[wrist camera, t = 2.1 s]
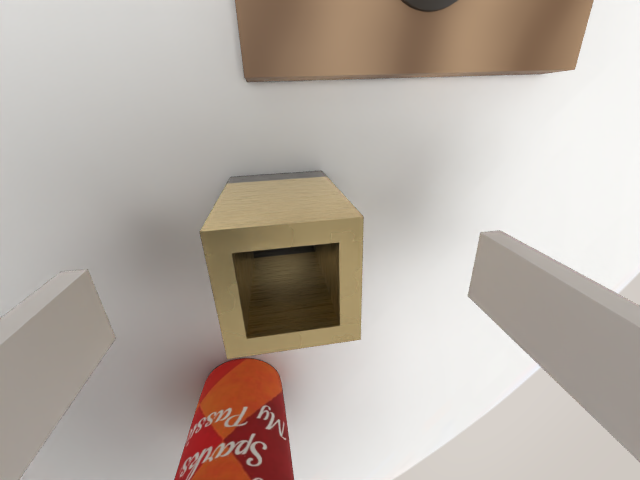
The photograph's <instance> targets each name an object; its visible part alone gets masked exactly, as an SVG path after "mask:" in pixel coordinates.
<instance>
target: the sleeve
mask: <svg viewBox="0 0 640 480" xmlns="http://www.w3.org/2000/svg"><path fill="white" fill-rule="evenodd" d="M363 218H364V217H363V216H362V215H361V214H360V212H359V211H358V210H357V209H356V208H355V207H354V206H353V205H352V204H351V203H350V201H349V200H348V199H347V198H346V197H345V196H344V195H343V194H342V193H341V191H340V190H339V189H338V188H337V187H336V186H335V185H334V184H333V183H332V181H331V180H330V179H329V178H328V177H327V176H326V175H325V174H324V173H323V172H322V171H311V172H296V173H282V174H267V175H252V176H237V177H230V179H229V180H228V182H227V184H226V186H225V187H224V189H223V191H222V193H221V195H220V196H219V198H218V200H217V202H216V203H215V205H214V207H213V209H212V211H211V212H210V214H209V216H208V218H207V219H206V221H205V223H204V225H203V227H202V228H201V230H200V236H201V240H202V245H203V250H204V254H205V259H206V264H207V268H208V273H209V277H210V282H211V287H212V291H213V296H214V301H215V305H216V310H217V314H218V319H219V324H220V328H221V333H222V337H223V342H224V347H225V351H226V356H227V359H231V358H238V357H245V356H252V355H259V354H266V353H272V352H279V351H286V350H293V349H300V348H307V347H313V346H320V345H327V344H334V343H341V342H348V341H354V340H361V300H362V259H363Z"/></svg>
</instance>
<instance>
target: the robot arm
mask: <svg viewBox="0 0 640 480" xmlns="http://www.w3.org/2000/svg"><path fill="white" fill-rule="evenodd" d="M468 297H469V298H470V299H471V300H472V301H473V302H474V303H475V304H476V305H477V306H478V307H480V308H481V309H482V310H483V311H484V312H485V313H486V314H487V315H488V316H489V317H490V318H491V319H492V320H493V321H494V322H495V323H496V324H497V325H498V326H499V327H500V328H501V329H502V330H503V331H504V332H505V333H506V334H507V335H509V336H510V337H511V338H512V339H513V340H514V341H515V342H516V343H517V344H518V345H519V346H520V347H521V348H522V349H523V350H524V351H525V352H526V353H527V354H528V355H529V356H530V357H531V358H532V359H533V360H534V361H535V362H536V363H538V364H539V365H540V366H541V367H542V368H543V369H544V370H545V371H546V372H547V373H548V374H549V375H550V376H551V377H552V378H553V379H554V380H555V381H556V382H557V383H558V384H559V385H560V386H561V387H562V388H563V389H564V390H565V391H567V392H568V393H569V394H570V395H571V396H572V397H573V398H574V399H575V400H576V401H577V402H578V403H579V404H580V405H581V406H582V407H583V408H584V409H585V410H586V411H587V412H588V413H589V414H590V415H591V416H592V417H593V418H594V419H596V420H597V421H598V422H599V423H600V424H601V425H602V426H603V427H604V428H605V429H606V430H607V431H608V432H609V433H610V434H611V435H612V436H613V437H614V438H615V439H616V440H617V441H618V442H619V443H620V444H621V445H622V446H624V447H625V448H626V449H627V450H628V451H629V452H630V453H631V454H632V455H633V456H634V457H635V458H636V459H637V460H638V461H639V462H640V306H639V305H638V304H636V303H633V302H632V301H630V300H628V299H626V298H624V297H623V296H621V295H619V294H617V293H615V292H613V291H612V290H610V289H608V288H606V287H604V286H602V285H600V284H599V283H597V282H595V281H593V280H591V279H589V278H587V277H586V276H584V275H582V274H580V273H578V272H576V271H574V270H573V269H571V268H569V267H567V266H565V265H563V264H561V263H560V262H558V261H556V260H554V259H552V258H550V257H548V256H547V255H545V254H543V253H541V252H539V251H537V250H535V249H534V248H532V247H530V246H528V245H526V244H524V243H522V242H521V241H519V240H517V239H515V238H513V237H511V236H509V235H508V234H506V233H504V232H502V231H489V232H481V233H480V237H479V242H478V247H477V252H476V257H475V262H474V267H473V272H472V277H471V282H470V287H469V292H468ZM115 339H116V337H115V335H114V333H113V330H112V328H111V325H110V323H109V320H108V318H107V315H106V313H105V311H104V308H103V306H102V303H101V301H100V298H99V296H98V293H97V291H96V289H95V286H94V284H93V281H92V279H91V276H90V274H89V271H88V269H86V270H75V271H65V272H60V273H59V274H57V275H56V276H55V277H53V278H52V279H51V280H49V281H48V282H47V283H46V284H44V285H43V286H42V287H40V288H39V289H38V290H36V291H35V292H34V293H33V294H31V295H30V296H29V297H27V298H26V299H25V300H24V301H22V302H21V303H20V304H18V305H17V306H16V307H14V308H13V309H12V310H11V311H9V312H8V313H7V314H5V315H4V316H3V317H1V318H0V480H19V479H20V478H21V476H22V475H23V474H24V472H25V471H26V469H27V468H28V466H29V465H30V463H31V462H32V460H33V459H34V457H35V456H36V455H37V453H38V452H39V450H40V449H41V447H42V446H43V444H44V443H45V441H46V440H47V438H48V437H49V436H50V434H51V433H52V431H53V430H54V428H55V427H56V425H57V424H58V422H59V421H60V419H61V418H62V417H63V415H64V414H65V412H66V411H67V409H68V408H69V406H70V405H71V403H72V402H73V400H74V399H75V398H76V396H77V395H78V393H79V392H80V390H81V389H82V387H83V386H84V384H85V383H86V381H87V380H88V379H89V377H90V376H91V374H92V373H93V371H94V370H95V368H96V367H97V365H98V364H99V362H100V361H101V359H102V358H103V357H104V355H105V354H106V352H107V351H108V349H109V348H110V346H111V345H112V343H113V342H114V340H115Z"/></svg>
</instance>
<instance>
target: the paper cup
mask: <svg viewBox="0 0 640 480" xmlns="http://www.w3.org/2000/svg"><path fill="white" fill-rule="evenodd" d="M174 480H294V476H293V468H292V460H291V451H290V443H289V435H288V427H287V420H286V412H285V404H284V397H283V390H282V385H281V380H280V377H279V374H278V373H277V371H276V370H275V369H274V368H273V367H272V366H271V365H269V364H268V363H266V362H263V361H260V360H257V359H250V358H242V359H235V360H231V361H228V362H225V363H223V364H221V365H220V366H218V367H217V368H215V369H214V370H213V371H212V372H211V373H210V375H209V376H208V378H207V380H206V382H205V384H204V387H203V390H202V393H201V396H200V399H199V402H198V405H197V408H196V411H195V414H194V418H193V421H192V424H191V427H190V430H189V434H188V437H187V440H186V443H185V447H184V450H183V453H182V456H181V460H180V463H179V466H178V469H177V473H176V476H175V479H174Z"/></svg>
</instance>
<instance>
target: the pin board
mask: <svg viewBox="0 0 640 480" xmlns="http://www.w3.org/2000/svg"><path fill="white" fill-rule="evenodd" d="M235 4H236V12H237V20H238V29H239V37H240V45H241V53H242V61H243V69H244V77H245V79H246V81H247V82H263V81H300V80H338V79H375V78H413V77H450V76H487V75H525V74H545V73H553V72H560V71H568V70H575V67H576V63H577V59H578V56H579V52H580V48H581V45H582V41H583V37H584V33H585V30H586V26H587V22H588V19H589V15H590V11H591V8H592V4H593V0H235Z"/></svg>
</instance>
